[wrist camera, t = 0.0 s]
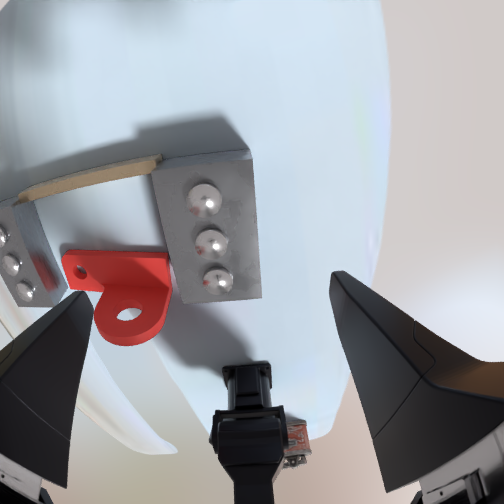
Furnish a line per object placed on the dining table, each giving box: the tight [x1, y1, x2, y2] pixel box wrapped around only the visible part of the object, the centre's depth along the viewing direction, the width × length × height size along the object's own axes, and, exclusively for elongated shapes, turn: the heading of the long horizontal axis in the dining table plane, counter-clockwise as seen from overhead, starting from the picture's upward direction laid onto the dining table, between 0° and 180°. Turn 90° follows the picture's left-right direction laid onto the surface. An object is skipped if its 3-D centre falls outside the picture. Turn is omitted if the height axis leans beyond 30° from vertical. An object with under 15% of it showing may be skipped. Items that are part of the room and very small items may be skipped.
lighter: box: [281, 420, 312, 470], centre depth 44 cm, size 8×3×10 cm, turn 103°
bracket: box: [61, 250, 172, 346], centre depth 23 cm, size 12×4×8 cm, turn 86°
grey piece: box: [0, 149, 262, 307], centre depth 22 cm, size 12×29×4 cm, turn 94°
